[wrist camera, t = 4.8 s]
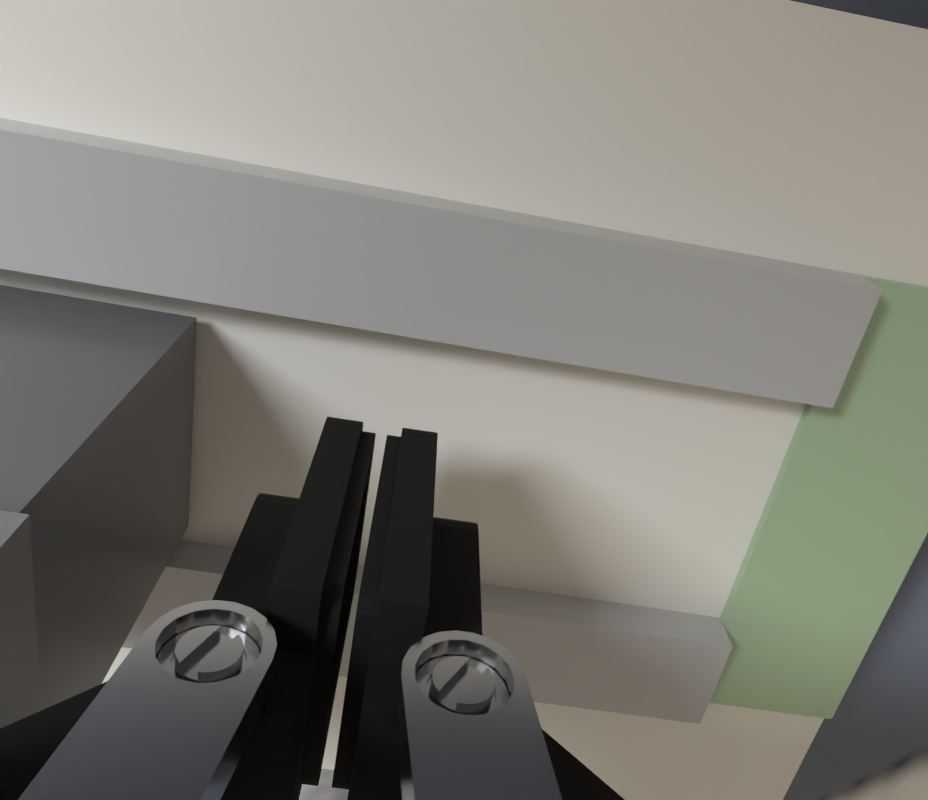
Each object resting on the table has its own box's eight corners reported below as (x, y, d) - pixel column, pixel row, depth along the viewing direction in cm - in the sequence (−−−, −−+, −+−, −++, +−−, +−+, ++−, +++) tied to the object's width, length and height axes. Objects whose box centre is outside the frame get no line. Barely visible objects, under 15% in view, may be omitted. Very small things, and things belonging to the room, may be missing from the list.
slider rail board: (-726, -297, 12) (-1213, -430, 8) (1017, 67, 14) (1198, 79, 11) (-419, 565, 18) (-619, 688, 15) (729, 719, 21) (783, 857, 17)
